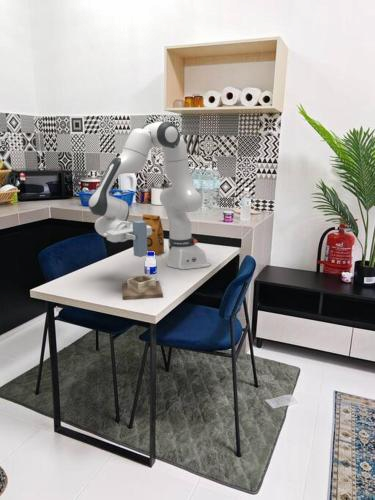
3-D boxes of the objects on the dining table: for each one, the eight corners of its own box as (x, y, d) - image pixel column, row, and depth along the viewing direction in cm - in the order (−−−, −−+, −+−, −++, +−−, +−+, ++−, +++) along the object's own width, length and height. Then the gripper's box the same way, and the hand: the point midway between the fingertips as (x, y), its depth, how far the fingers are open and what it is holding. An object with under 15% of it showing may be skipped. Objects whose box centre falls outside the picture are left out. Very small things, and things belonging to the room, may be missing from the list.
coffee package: (157, 256, 216) (156, 217, 210) (139, 253, 222) (137, 215, 216) (167, 252, 224) (166, 214, 218) (149, 249, 230) (148, 212, 224)
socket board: (158, 283, 174) (158, 272, 173) (162, 297, 159) (162, 284, 157) (122, 285, 171) (121, 274, 170) (122, 299, 156) (122, 286, 155)
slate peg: (141, 253, 164) (140, 220, 160) (147, 255, 161) (146, 221, 157) (133, 255, 161) (132, 221, 157) (139, 257, 158) (138, 223, 155)
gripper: (99, 227, 160) (119, 232, 150) (139, 220, 174) (160, 225, 164) (100, 242, 162) (120, 248, 152) (140, 234, 175) (160, 239, 166)
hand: (141, 236), depth 158 cm, fingers closed on slate peg, 4 cm apart
